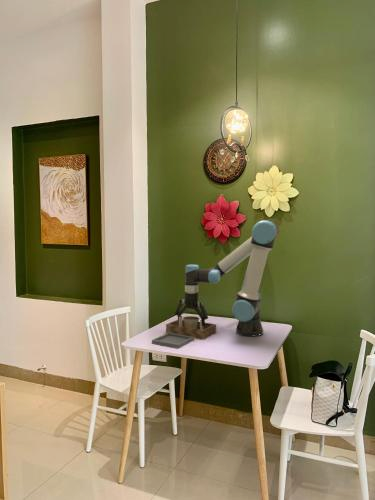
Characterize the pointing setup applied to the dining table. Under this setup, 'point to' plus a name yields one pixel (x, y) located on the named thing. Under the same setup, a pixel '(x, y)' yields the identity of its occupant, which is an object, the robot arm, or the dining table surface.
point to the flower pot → (191, 321)
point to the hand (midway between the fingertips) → (190, 329)
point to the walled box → (191, 330)
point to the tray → (173, 340)
